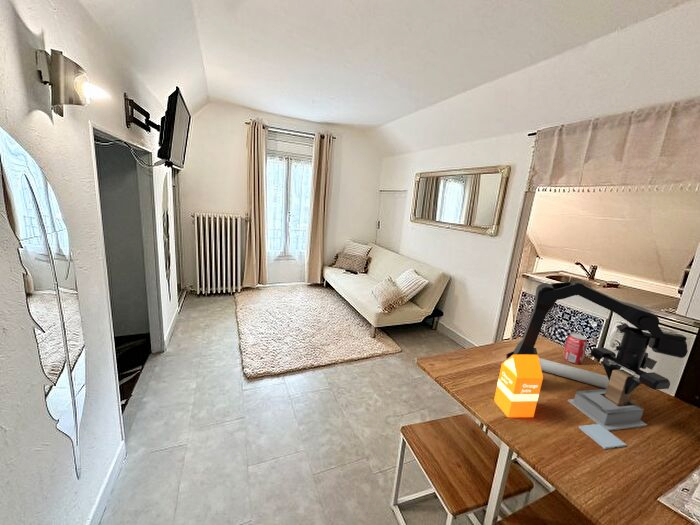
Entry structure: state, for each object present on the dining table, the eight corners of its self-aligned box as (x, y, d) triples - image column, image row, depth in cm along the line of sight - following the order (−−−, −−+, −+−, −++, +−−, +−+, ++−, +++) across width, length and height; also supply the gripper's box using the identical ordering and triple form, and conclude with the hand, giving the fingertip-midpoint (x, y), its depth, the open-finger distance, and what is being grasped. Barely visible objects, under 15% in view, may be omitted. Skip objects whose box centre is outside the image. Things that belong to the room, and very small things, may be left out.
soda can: (577, 358, 126) (584, 334, 123) (584, 366, 119) (591, 341, 117) (559, 354, 128) (565, 331, 125) (565, 362, 121) (572, 338, 119)
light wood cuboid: (617, 404, 89) (626, 377, 87) (604, 396, 93) (612, 370, 91) (627, 403, 90) (636, 376, 88) (613, 395, 94) (622, 369, 92)
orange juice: (493, 400, 95) (504, 348, 90) (517, 400, 96) (529, 348, 91) (508, 418, 87) (520, 361, 83) (534, 417, 88) (547, 361, 84)
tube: (612, 376, 107) (536, 355, 118) (618, 379, 102) (539, 357, 113) (610, 389, 107) (534, 368, 118) (616, 393, 102) (536, 370, 113)
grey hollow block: (607, 431, 84) (611, 417, 83) (567, 400, 97) (570, 388, 96) (646, 426, 87) (651, 412, 86) (603, 397, 100) (606, 385, 99)
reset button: (615, 409, 90) (617, 403, 90) (605, 403, 93) (607, 397, 93) (622, 409, 91) (624, 402, 90) (612, 402, 94) (614, 396, 93)
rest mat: (604, 449, 78) (605, 447, 78) (578, 427, 85) (578, 425, 85) (625, 446, 79) (626, 444, 79) (598, 425, 87) (598, 423, 86)
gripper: (692, 362, 80) (674, 408, 83) (620, 332, 98) (608, 370, 101) (663, 364, 78) (646, 411, 81) (594, 333, 96) (583, 372, 99)
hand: (619, 389), depth 91 cm, fingers closed on light wood cuboid, 4 cm apart
